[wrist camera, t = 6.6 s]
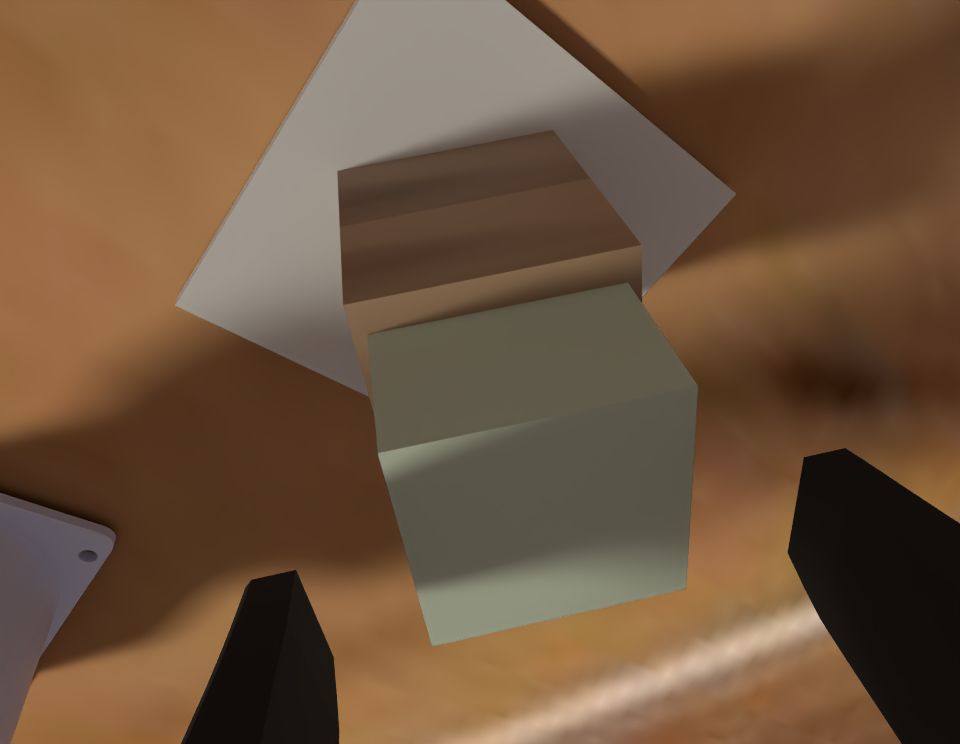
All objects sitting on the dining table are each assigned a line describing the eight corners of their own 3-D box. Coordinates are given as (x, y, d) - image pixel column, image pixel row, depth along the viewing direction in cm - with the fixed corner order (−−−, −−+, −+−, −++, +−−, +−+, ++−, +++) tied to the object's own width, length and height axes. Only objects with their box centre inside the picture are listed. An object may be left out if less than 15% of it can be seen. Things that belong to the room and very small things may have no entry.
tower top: (599, 377, 18) (642, 463, 15) (391, 422, 18) (402, 515, 15) (590, 178, 15) (642, 244, 12) (339, 227, 15) (342, 305, 12)
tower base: (566, 313, 20) (599, 377, 18) (383, 351, 20) (391, 422, 18) (553, 129, 17) (590, 178, 15) (337, 171, 17) (339, 227, 15)
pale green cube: (629, 471, 16) (686, 588, 13) (415, 517, 15) (431, 646, 13) (627, 282, 13) (698, 386, 10) (367, 334, 13) (377, 453, 10)
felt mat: (492, 445, 23) (495, 456, 23) (178, 295, 19) (175, 305, 18) (728, 186, 19) (736, 193, 19) (406, -84, 15) (408, -81, 14)
